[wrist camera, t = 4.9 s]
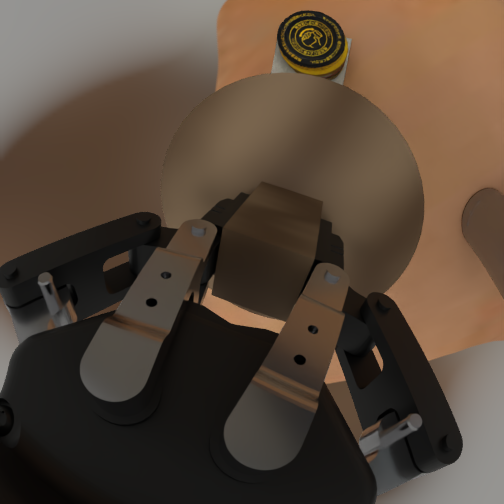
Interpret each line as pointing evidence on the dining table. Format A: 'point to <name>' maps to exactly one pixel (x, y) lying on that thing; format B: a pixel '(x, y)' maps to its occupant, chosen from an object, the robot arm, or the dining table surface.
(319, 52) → the condiment
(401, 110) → the dining table surface
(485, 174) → the dining table surface
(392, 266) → the lid
